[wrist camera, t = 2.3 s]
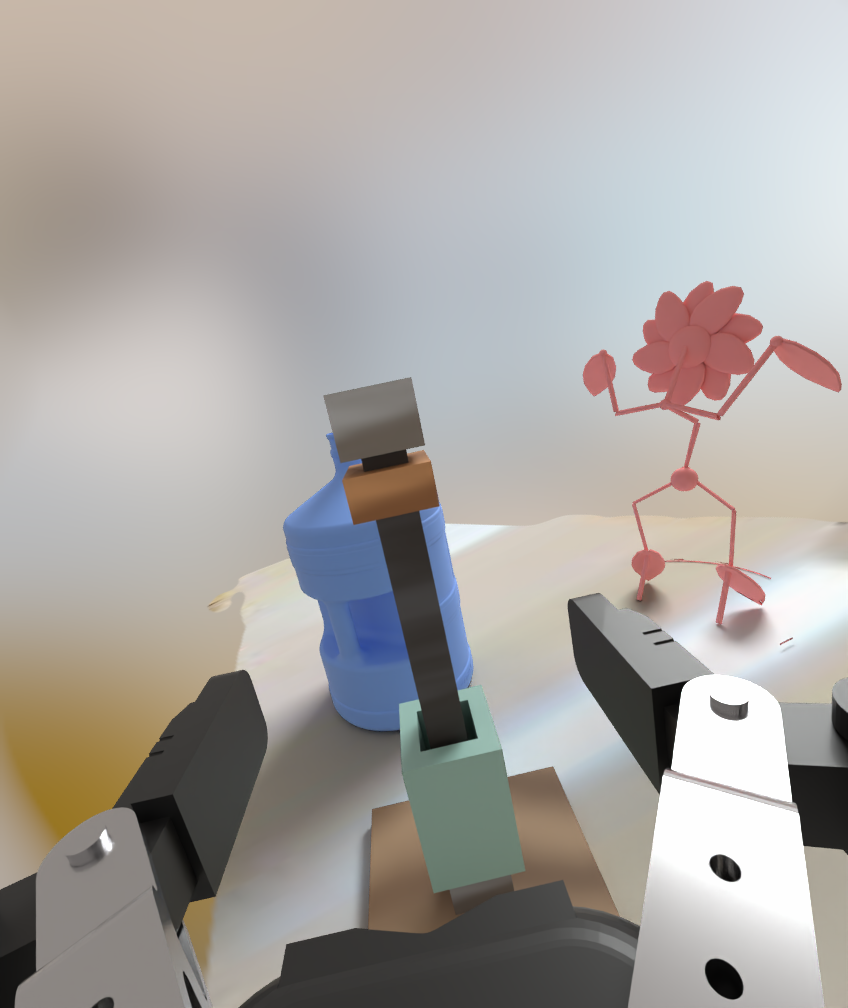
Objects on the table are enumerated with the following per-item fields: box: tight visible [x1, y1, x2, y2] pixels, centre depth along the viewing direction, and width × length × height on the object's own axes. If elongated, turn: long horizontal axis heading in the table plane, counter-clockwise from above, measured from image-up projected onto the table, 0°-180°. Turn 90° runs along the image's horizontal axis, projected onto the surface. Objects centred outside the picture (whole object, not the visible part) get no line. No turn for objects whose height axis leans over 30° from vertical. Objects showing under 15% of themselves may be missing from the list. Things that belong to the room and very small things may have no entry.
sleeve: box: [399, 685, 525, 893], centre depth 25 cm, size 5×5×8 cm
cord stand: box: [324, 377, 620, 933], centre depth 24 cm, size 14×14×31 cm
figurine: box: [583, 281, 842, 645], centre depth 51 cm, size 15×26×35 cm, turn 34°
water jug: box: [283, 433, 473, 731], centre depth 46 cm, size 16×16×28 cm
